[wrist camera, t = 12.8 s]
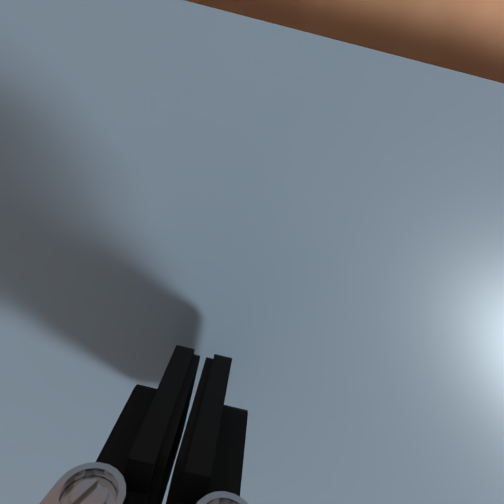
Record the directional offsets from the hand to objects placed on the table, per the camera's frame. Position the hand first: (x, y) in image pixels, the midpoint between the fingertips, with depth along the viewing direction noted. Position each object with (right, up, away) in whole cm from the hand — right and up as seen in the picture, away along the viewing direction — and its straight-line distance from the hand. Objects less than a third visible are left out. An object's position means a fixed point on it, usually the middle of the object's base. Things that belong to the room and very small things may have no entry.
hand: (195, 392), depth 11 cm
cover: (+3, +1, +8) cm, 9 cm away
